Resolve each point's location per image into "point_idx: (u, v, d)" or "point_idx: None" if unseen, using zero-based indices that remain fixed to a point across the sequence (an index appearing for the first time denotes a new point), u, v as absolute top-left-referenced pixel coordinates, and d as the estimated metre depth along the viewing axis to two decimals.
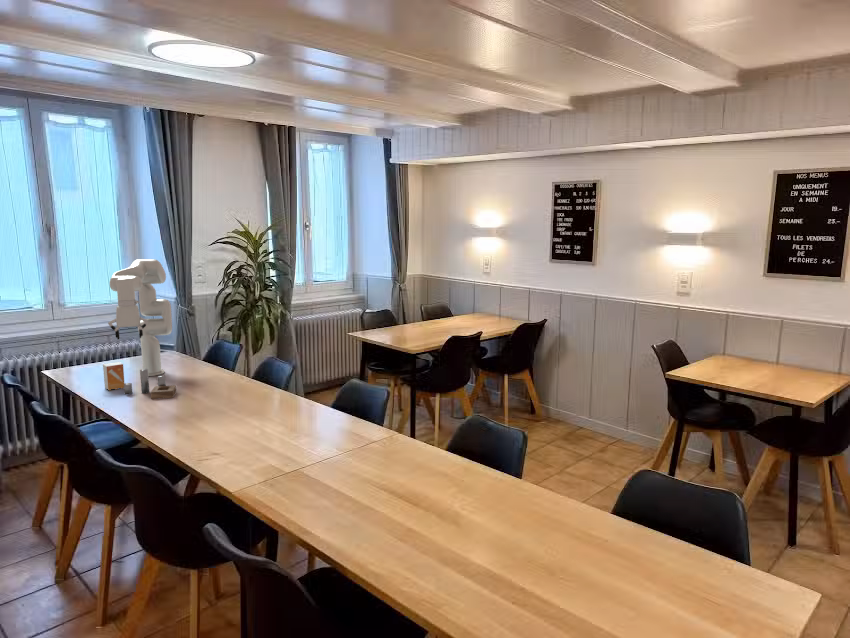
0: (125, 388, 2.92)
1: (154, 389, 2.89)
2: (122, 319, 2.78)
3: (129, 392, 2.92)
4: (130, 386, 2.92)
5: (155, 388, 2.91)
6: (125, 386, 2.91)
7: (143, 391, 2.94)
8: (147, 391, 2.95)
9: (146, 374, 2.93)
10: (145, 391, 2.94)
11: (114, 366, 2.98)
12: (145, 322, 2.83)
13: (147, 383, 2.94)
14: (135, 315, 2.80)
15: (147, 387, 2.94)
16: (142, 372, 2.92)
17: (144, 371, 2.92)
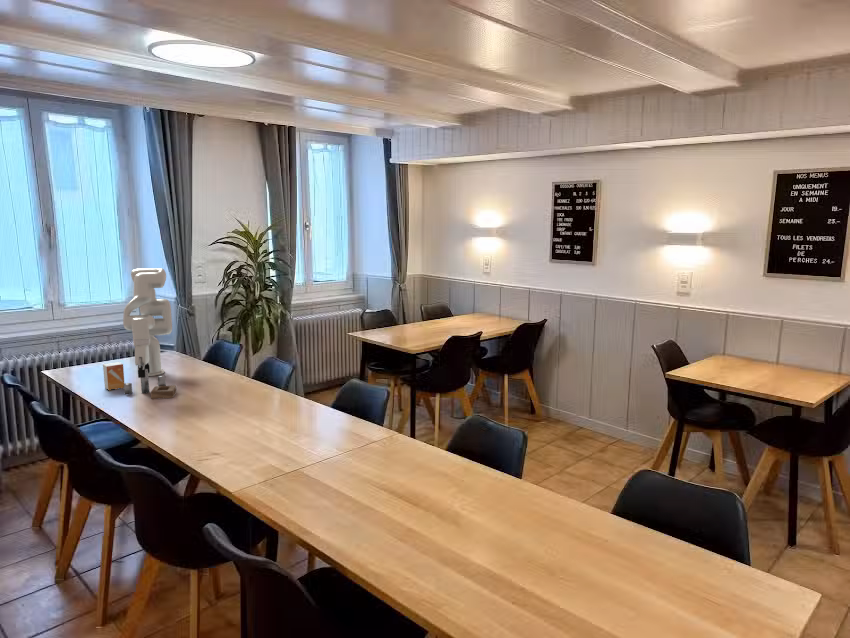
0: (125, 388, 2.92)
1: (154, 389, 2.89)
2: (146, 356, 2.90)
3: (129, 392, 2.92)
4: (130, 386, 2.92)
5: (155, 388, 2.91)
6: (125, 386, 2.91)
7: (143, 391, 2.94)
8: (147, 391, 2.95)
9: (146, 374, 2.93)
10: (145, 391, 2.94)
11: (114, 366, 2.98)
12: None
13: (147, 383, 2.94)
14: (148, 351, 2.96)
15: (147, 387, 2.94)
16: None
17: None
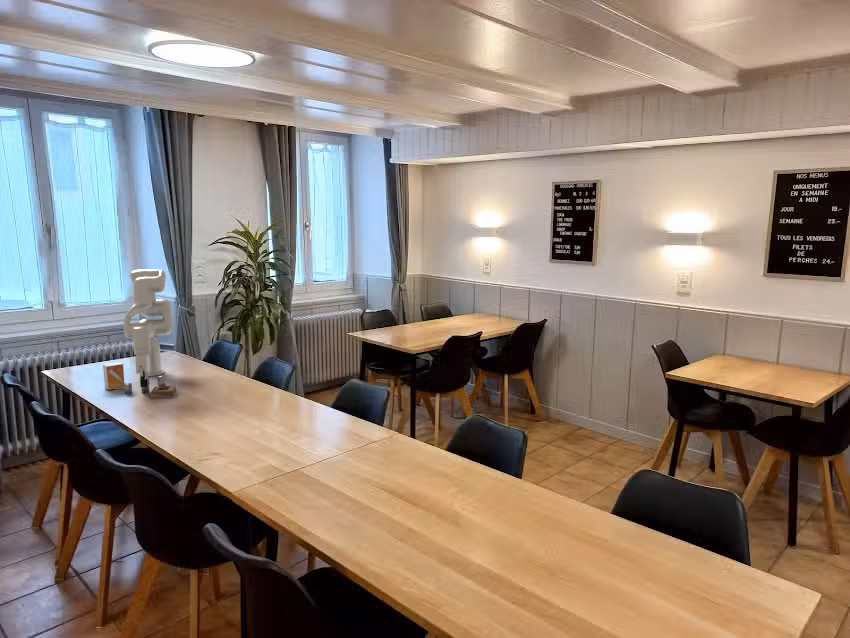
0: (125, 388, 2.92)
1: (154, 389, 2.89)
2: (147, 365, 2.92)
3: (129, 392, 2.92)
4: (130, 386, 2.92)
5: (155, 388, 2.91)
6: (125, 386, 2.91)
7: (143, 391, 2.94)
8: (147, 391, 2.95)
9: (146, 374, 2.93)
10: (145, 391, 2.94)
11: (114, 366, 2.98)
12: None
13: (147, 383, 2.94)
14: (149, 359, 2.97)
15: (147, 387, 2.94)
16: None
17: (144, 371, 2.92)
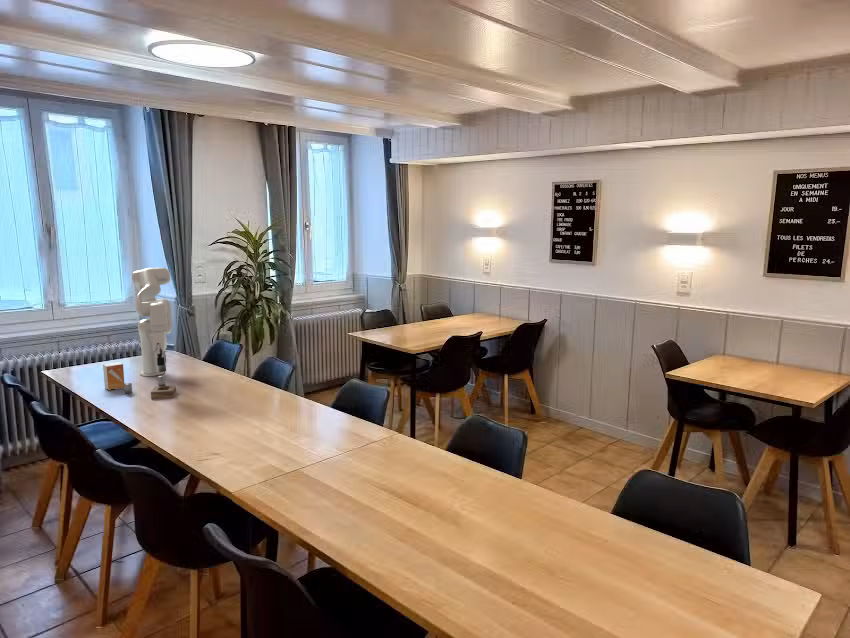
0: (125, 388, 2.92)
1: (154, 389, 2.89)
2: (164, 343, 2.85)
3: (129, 392, 2.92)
4: (130, 386, 2.92)
5: (155, 388, 2.91)
6: (125, 386, 2.91)
7: (160, 370, 2.87)
8: (164, 370, 2.88)
9: (163, 352, 2.86)
10: (162, 370, 2.87)
11: (114, 366, 2.98)
12: None
13: (164, 361, 2.87)
14: None
15: (164, 366, 2.87)
16: None
17: None
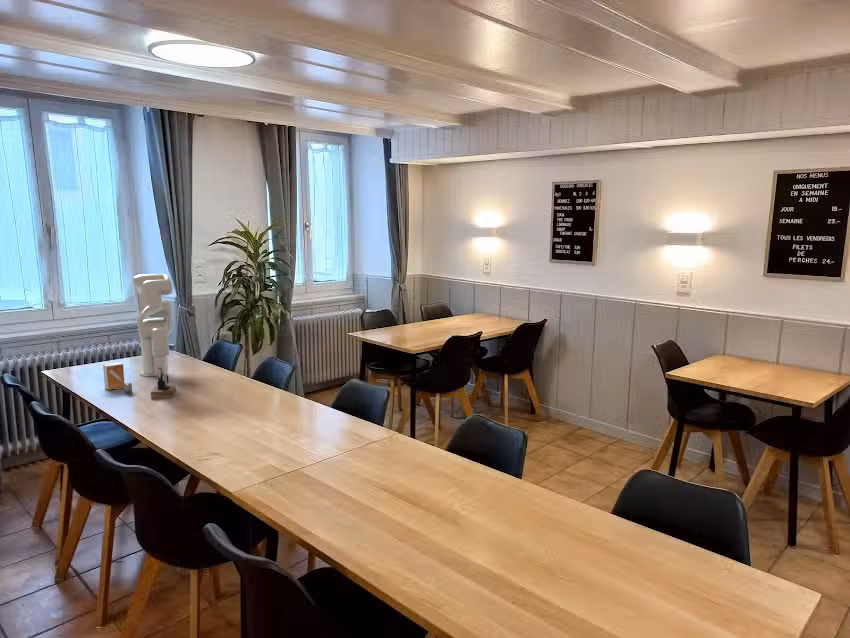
0: (125, 388, 2.92)
1: (154, 389, 2.89)
2: (165, 367, 2.87)
3: (129, 392, 2.92)
4: (130, 386, 2.92)
5: (155, 388, 2.91)
6: (125, 386, 2.91)
7: None
8: None
9: (165, 376, 2.89)
10: None
11: (114, 366, 2.98)
12: None
13: (166, 386, 2.90)
14: None
15: None
16: None
17: None
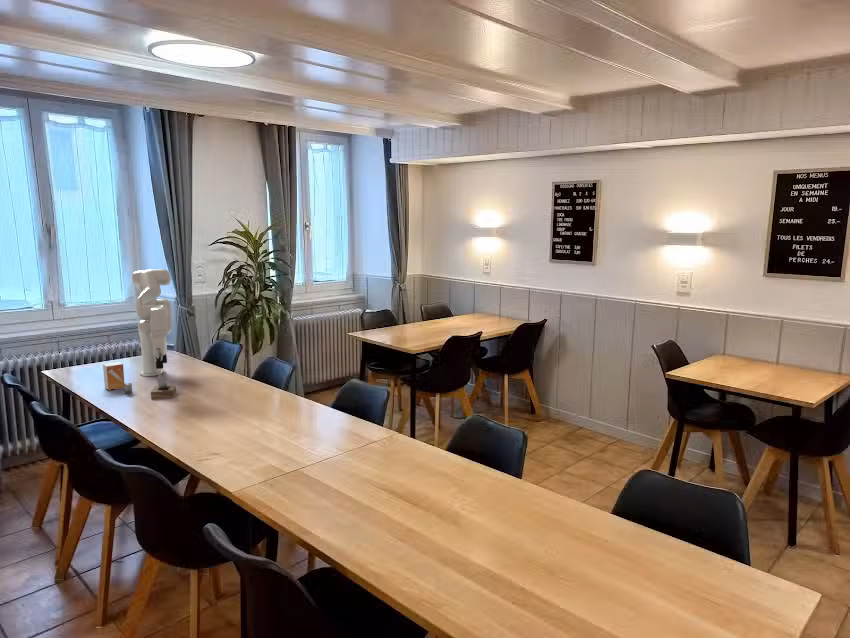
0: (125, 388, 2.92)
1: (154, 389, 2.89)
2: (164, 347, 2.86)
3: (129, 392, 2.92)
4: (130, 386, 2.92)
5: (155, 388, 2.91)
6: (125, 386, 2.91)
7: None
8: None
9: (165, 376, 2.89)
10: None
11: (114, 366, 2.98)
12: None
13: (165, 386, 2.90)
14: None
15: None
16: (161, 375, 2.88)
17: (163, 374, 2.88)
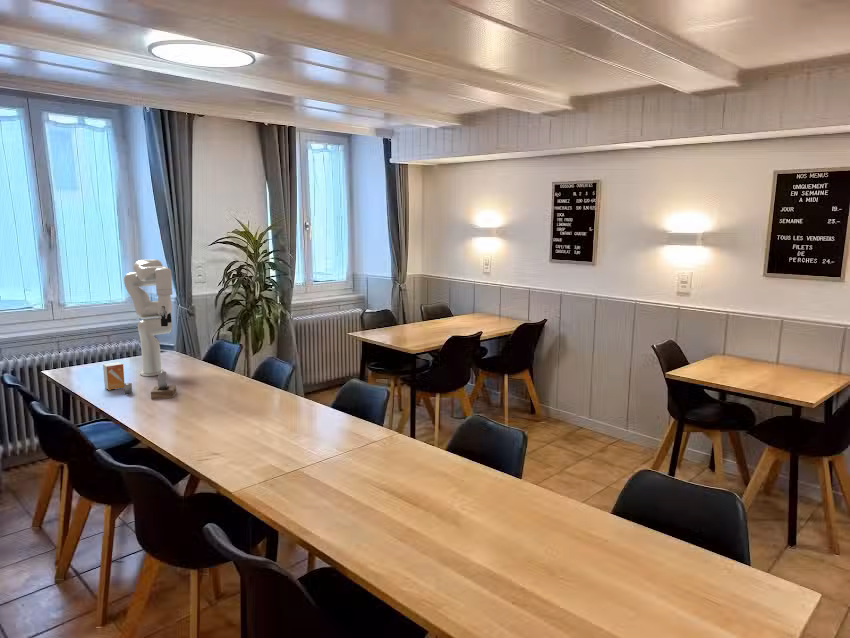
0: (125, 388, 2.92)
1: (154, 389, 2.89)
2: (168, 306, 3.00)
3: (129, 392, 2.92)
4: (130, 386, 2.92)
5: (155, 388, 2.91)
6: (125, 386, 2.91)
7: None
8: None
9: (165, 376, 2.89)
10: None
11: (114, 366, 2.98)
12: None
13: (165, 386, 2.90)
14: None
15: None
16: (161, 375, 2.88)
17: (163, 374, 2.88)
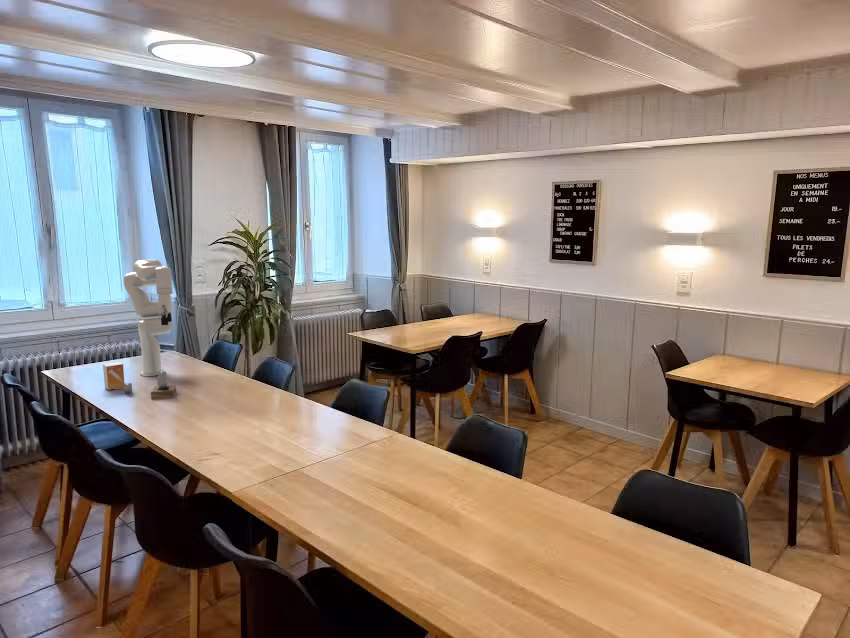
0: (125, 388, 2.92)
1: (154, 389, 2.89)
2: (169, 305, 3.00)
3: (129, 392, 2.92)
4: (130, 386, 2.92)
5: (155, 388, 2.91)
6: (125, 386, 2.91)
7: None
8: None
9: (165, 376, 2.89)
10: None
11: (114, 366, 2.98)
12: None
13: (165, 386, 2.90)
14: None
15: None
16: (161, 375, 2.88)
17: (163, 374, 2.88)
